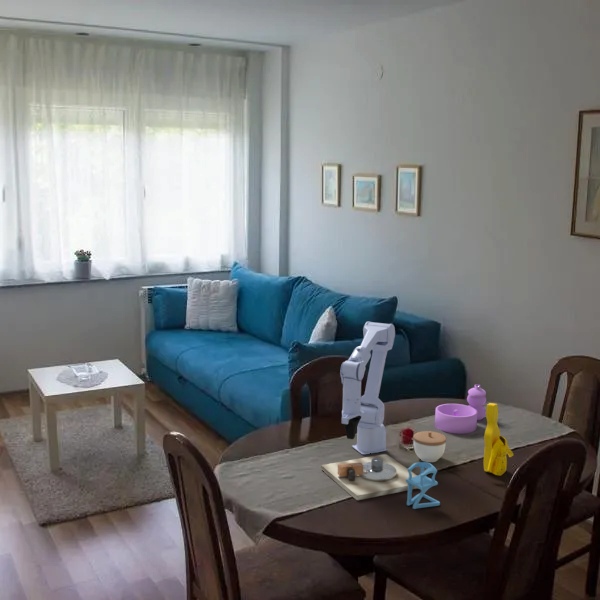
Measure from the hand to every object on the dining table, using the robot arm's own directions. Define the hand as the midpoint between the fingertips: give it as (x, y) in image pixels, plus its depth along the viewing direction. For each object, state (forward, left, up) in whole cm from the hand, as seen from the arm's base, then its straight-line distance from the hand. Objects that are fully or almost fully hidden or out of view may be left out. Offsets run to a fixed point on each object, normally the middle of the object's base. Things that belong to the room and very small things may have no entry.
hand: (350, 438), depth 240 cm
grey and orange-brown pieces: (0, +11, -8) cm, 14 cm away
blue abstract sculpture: (-6, +32, -10) cm, 34 cm away
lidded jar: (-27, +5, -10) cm, 29 cm away
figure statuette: (-41, +22, -10) cm, 47 cm away
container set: (-59, -19, -10) cm, 62 cm away
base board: (-2, +11, -9) cm, 15 cm away
